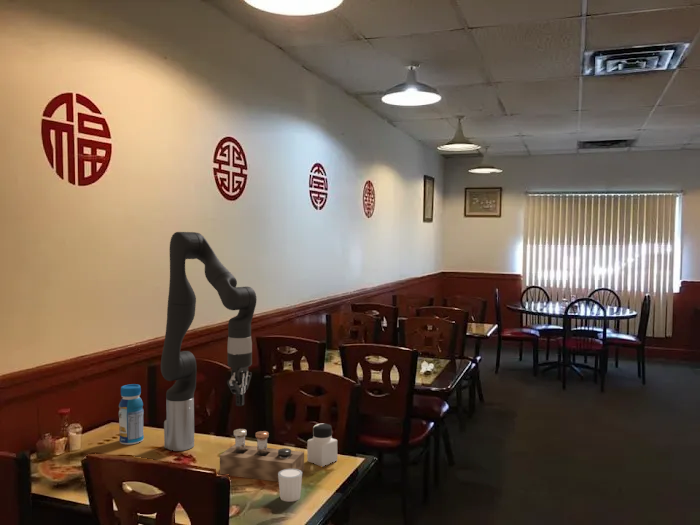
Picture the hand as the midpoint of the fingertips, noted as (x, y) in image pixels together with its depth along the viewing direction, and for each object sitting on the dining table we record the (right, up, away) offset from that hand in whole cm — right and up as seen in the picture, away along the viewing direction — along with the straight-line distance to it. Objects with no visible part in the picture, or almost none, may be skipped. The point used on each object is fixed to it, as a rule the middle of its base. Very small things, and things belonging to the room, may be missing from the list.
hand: (239, 405), depth 186 cm
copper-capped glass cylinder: (+7, -15, -2) cm, 17 cm away
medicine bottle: (+26, -20, +8) cm, 34 cm away
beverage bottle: (-44, -20, +27) cm, 55 cm away
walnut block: (+7, -21, -1) cm, 22 cm away
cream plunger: (0, -15, +1) cm, 15 cm away
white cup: (+18, -22, -19) cm, 34 cm away
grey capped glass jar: (+14, -20, -3) cm, 25 cm away
